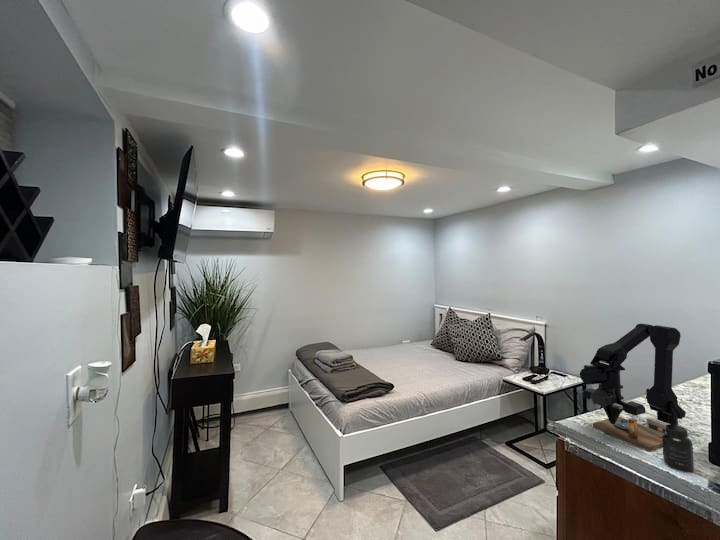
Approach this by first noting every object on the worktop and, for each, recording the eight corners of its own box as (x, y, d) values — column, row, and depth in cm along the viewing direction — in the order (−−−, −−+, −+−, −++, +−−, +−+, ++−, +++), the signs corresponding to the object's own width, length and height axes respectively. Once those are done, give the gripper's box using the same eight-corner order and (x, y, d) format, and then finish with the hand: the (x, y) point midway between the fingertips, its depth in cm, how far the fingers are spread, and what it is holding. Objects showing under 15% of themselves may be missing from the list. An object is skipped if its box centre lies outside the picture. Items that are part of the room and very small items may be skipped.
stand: (618, 419, 130) (617, 404, 130) (676, 442, 112) (676, 424, 112) (592, 426, 125) (592, 410, 125) (650, 451, 107) (649, 432, 107)
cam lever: (611, 420, 125) (610, 405, 125) (633, 423, 123) (632, 408, 123) (622, 436, 114) (621, 419, 114) (647, 439, 111) (646, 422, 111)
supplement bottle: (662, 457, 104) (660, 420, 104) (692, 464, 100) (690, 426, 100) (664, 467, 99) (662, 429, 99) (696, 475, 95) (694, 435, 95)
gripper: (571, 377, 124) (573, 417, 124) (625, 394, 107) (627, 440, 107) (590, 373, 128) (592, 412, 128) (645, 388, 111) (647, 433, 110)
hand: (612, 423), depth 118 cm, fingers closed
